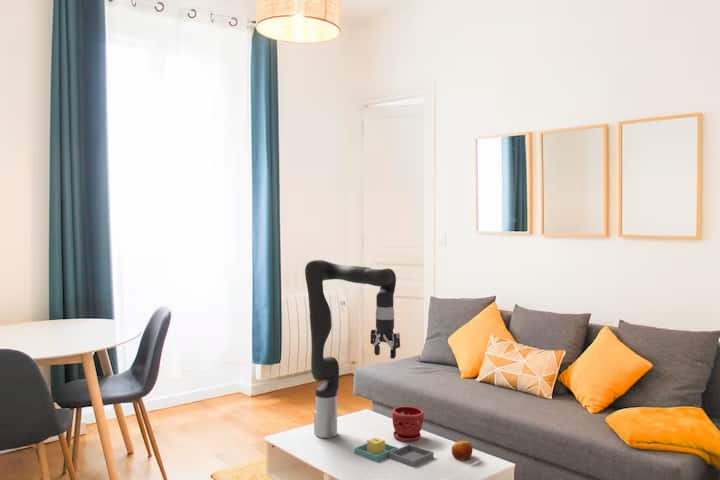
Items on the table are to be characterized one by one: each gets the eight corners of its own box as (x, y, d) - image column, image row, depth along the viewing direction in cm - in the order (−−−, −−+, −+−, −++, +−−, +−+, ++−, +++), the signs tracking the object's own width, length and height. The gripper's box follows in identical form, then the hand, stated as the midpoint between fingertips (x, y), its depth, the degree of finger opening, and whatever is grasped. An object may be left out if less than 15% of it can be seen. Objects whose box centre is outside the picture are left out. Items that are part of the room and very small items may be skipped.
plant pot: (407, 446, 246) (406, 417, 246) (386, 437, 257) (386, 409, 256) (429, 439, 254) (429, 411, 254) (408, 430, 265) (408, 403, 264)
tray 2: (389, 458, 233) (388, 452, 233) (409, 450, 242) (409, 444, 242) (413, 467, 225) (413, 461, 225) (433, 458, 234) (433, 452, 234)
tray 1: (354, 454, 238) (354, 448, 238) (375, 445, 247) (375, 439, 247) (376, 462, 230) (376, 456, 230) (397, 453, 238) (397, 447, 238)
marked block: (367, 453, 238) (367, 440, 238) (375, 449, 242) (375, 436, 242) (376, 456, 235) (376, 443, 235) (384, 452, 238) (384, 440, 238)
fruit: (463, 461, 227) (456, 440, 230) (452, 466, 233) (446, 445, 236) (480, 457, 230) (473, 436, 234) (469, 462, 237) (462, 441, 240)
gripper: (366, 316, 250) (366, 355, 251) (392, 320, 240) (392, 360, 241) (378, 314, 256) (378, 352, 256) (404, 318, 246) (404, 357, 246)
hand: (385, 356), depth 248 cm, fingers open, 8 cm apart
